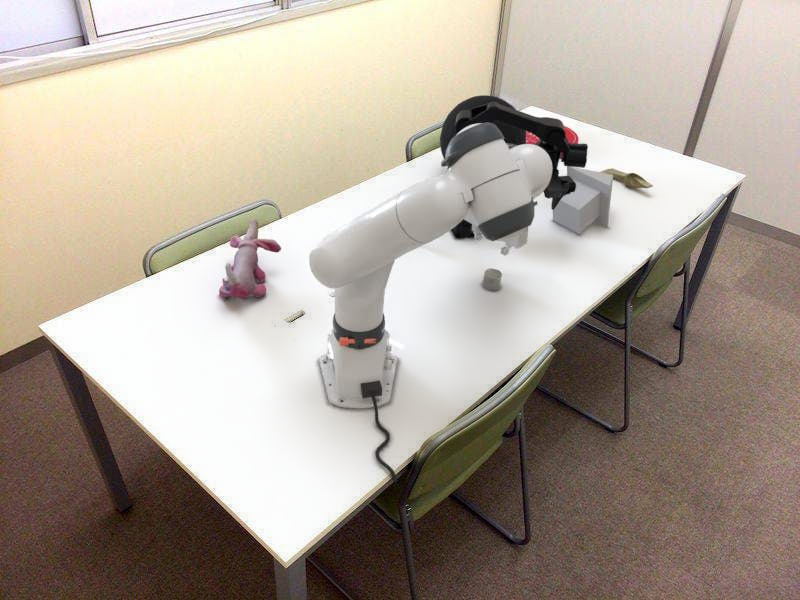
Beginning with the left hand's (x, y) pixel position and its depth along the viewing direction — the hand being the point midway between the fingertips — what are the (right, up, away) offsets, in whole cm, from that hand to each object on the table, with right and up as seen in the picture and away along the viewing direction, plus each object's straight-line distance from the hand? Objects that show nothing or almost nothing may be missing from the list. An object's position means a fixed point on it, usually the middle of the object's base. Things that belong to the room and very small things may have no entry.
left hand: (491, 246), depth 179 cm
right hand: (+18, +13, +21) cm, 30 cm away
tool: (+59, +28, +63) cm, 90 cm away
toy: (-69, -9, +4) cm, 69 cm away
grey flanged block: (+36, +12, +40) cm, 55 cm away
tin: (+1, -11, +8) cm, 13 cm away
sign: (+32, +50, +88) cm, 106 cm away
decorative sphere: (+3, +29, +60) cm, 66 cm away
